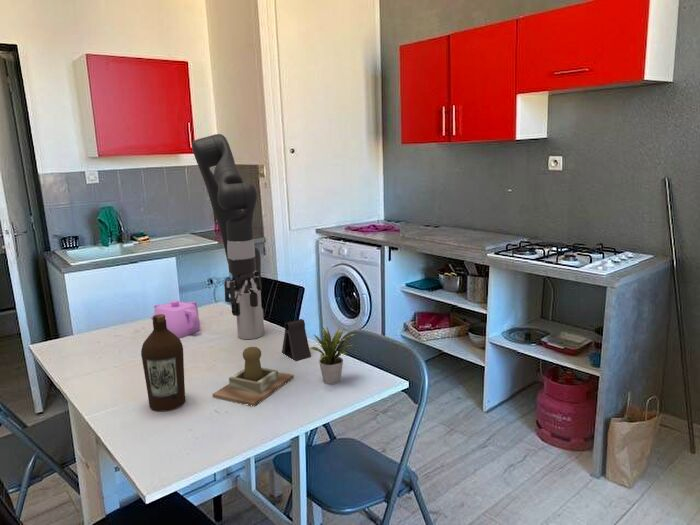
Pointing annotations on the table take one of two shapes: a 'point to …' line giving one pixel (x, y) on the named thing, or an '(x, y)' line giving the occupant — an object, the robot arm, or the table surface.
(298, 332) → the phone stand
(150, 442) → the table surface
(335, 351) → the house plant
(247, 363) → the cork
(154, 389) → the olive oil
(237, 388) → the socket board
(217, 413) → the table surface
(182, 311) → the teakettle
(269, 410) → the table surface
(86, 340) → the table surface
